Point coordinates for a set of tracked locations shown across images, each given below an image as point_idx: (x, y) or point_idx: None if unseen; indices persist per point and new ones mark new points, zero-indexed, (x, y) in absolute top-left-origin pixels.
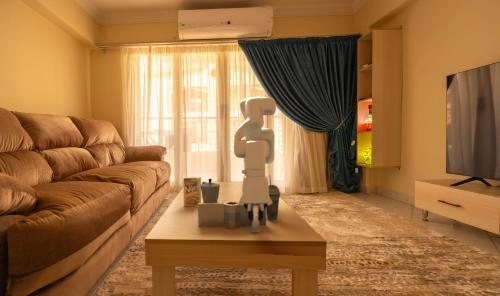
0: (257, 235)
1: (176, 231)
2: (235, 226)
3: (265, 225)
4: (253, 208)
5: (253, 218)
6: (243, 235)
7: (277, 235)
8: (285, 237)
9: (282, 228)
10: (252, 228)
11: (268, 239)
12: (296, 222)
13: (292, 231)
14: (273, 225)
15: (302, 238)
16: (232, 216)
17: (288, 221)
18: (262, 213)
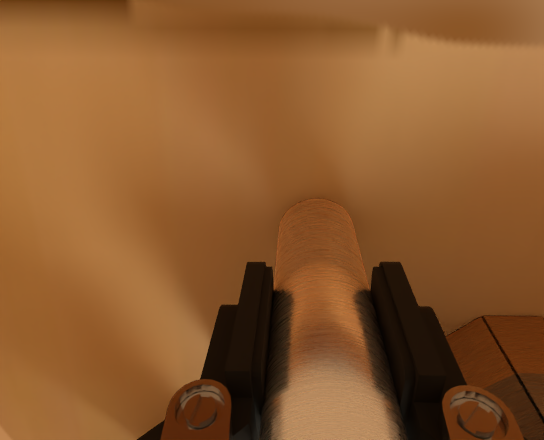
0: (301, 162)
1: None
2: (488, 331)
3: None
4: (385, 436)
5: (356, 292)
6: (439, 166)
7: (113, 158)
8: (30, 105)
9: (94, 303)
10: (352, 229)
11: (191, 49)
12: (15, 393)
13: (2, 243)
14: (169, 357)
15: None
16: None
17: (73, 410)
18: (216, 355)
